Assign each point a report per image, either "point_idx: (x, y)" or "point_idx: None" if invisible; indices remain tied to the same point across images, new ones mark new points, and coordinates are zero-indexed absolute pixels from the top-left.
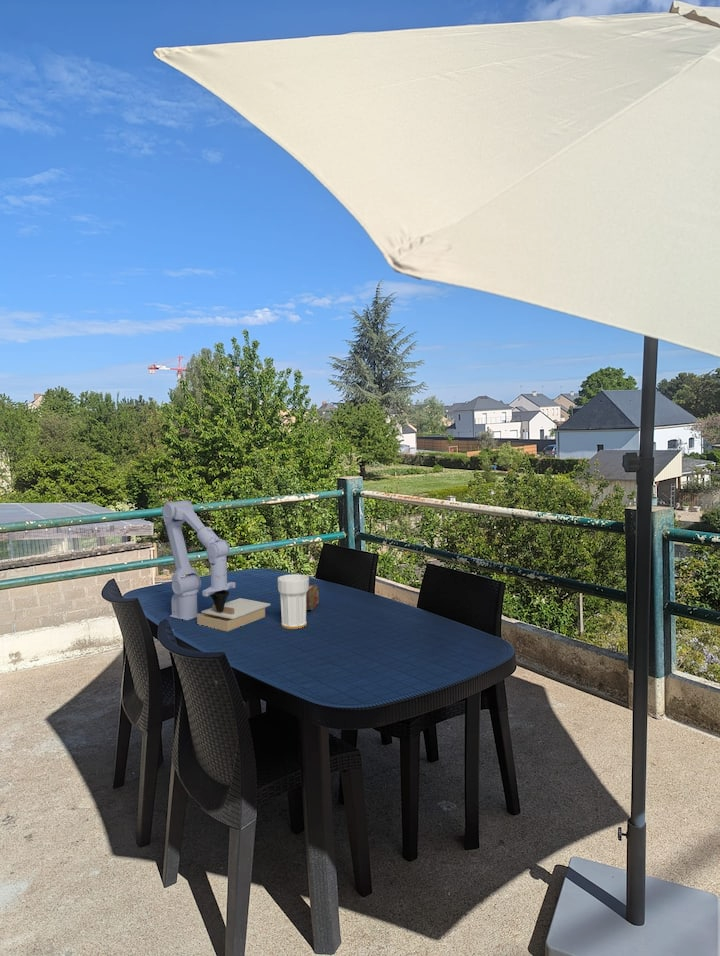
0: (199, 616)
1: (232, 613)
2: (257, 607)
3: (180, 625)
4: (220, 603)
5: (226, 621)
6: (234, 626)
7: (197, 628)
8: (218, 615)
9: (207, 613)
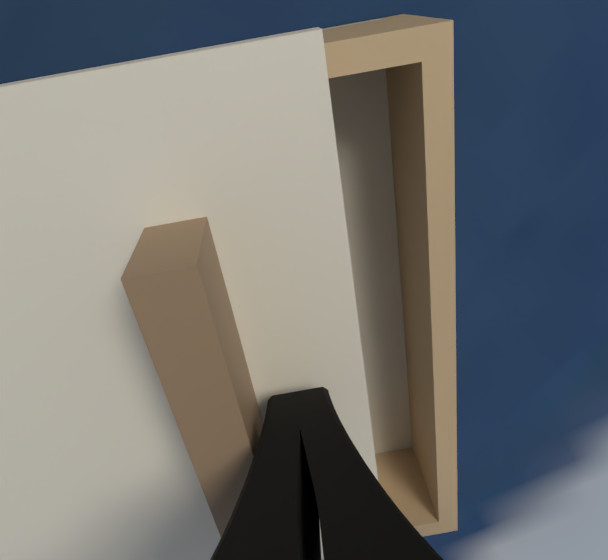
0: (455, 499)
1: (194, 225)
2: None
3: (514, 506)
4: (389, 498)
5: (443, 54)
6: None
7: (503, 369)
8: (360, 355)
9: None
